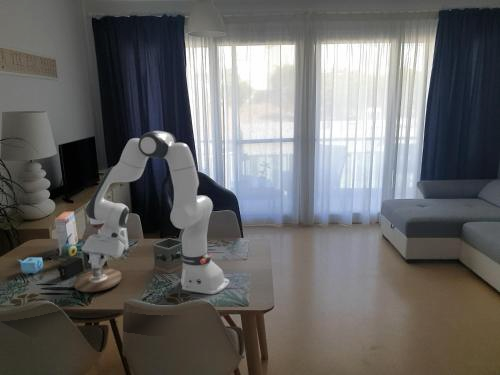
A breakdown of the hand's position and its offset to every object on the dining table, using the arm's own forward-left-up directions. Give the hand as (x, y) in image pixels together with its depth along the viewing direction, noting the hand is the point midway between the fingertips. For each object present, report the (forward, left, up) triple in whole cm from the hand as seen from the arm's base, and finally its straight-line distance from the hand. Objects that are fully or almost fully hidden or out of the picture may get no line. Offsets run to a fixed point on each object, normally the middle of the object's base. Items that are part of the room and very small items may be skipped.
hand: (95, 263), depth 166 cm
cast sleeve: (0, -1, -6) cm, 6 cm away
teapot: (+41, +6, -11) cm, 43 cm away
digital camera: (+21, -1, -11) cm, 23 cm away
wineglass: (+37, -32, -10) cm, 50 cm away
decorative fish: (+34, -12, -10) cm, 38 cm away
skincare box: (+24, -36, -10) cm, 44 cm away
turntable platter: (0, -1, -9) cm, 9 cm away
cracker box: (+50, -21, -10) cm, 55 cm away
